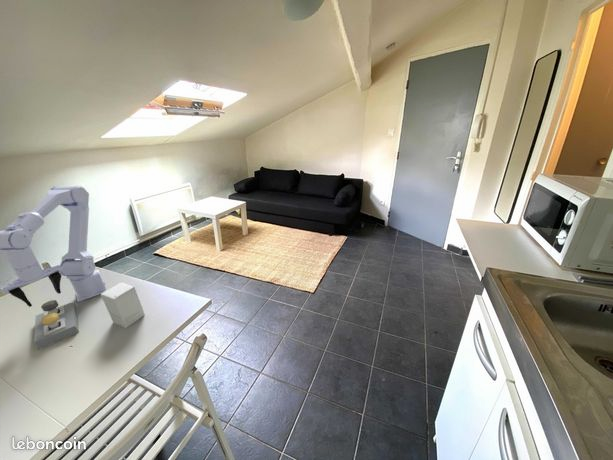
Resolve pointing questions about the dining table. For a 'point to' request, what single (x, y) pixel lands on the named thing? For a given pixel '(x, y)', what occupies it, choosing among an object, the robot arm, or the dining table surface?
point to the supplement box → (123, 304)
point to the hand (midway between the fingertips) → (44, 298)
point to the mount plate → (66, 329)
